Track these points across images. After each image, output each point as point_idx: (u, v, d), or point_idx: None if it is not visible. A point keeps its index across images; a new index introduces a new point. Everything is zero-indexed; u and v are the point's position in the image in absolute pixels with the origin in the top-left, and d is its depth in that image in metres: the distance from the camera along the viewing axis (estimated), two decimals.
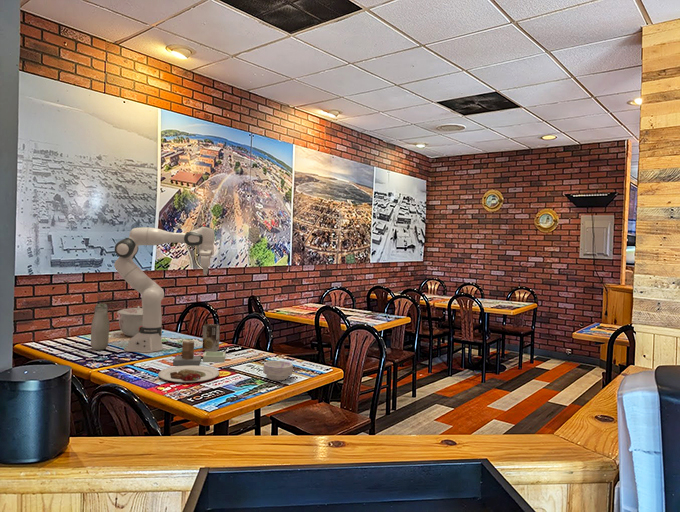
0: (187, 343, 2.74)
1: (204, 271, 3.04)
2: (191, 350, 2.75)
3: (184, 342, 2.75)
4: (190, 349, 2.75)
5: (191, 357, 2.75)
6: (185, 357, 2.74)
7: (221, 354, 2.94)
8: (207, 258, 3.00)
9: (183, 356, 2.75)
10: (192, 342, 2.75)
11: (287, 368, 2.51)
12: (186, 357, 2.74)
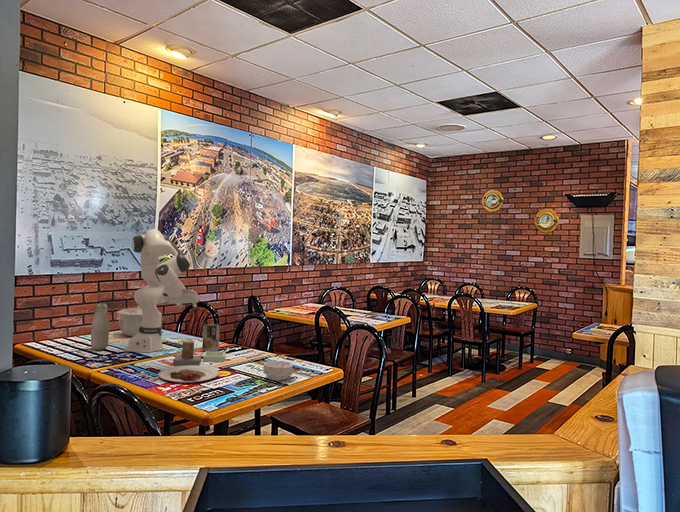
0: (187, 343, 2.74)
1: None
2: (191, 350, 2.75)
3: (184, 342, 2.75)
4: (190, 349, 2.75)
5: (191, 357, 2.75)
6: (185, 357, 2.74)
7: (221, 354, 2.94)
8: None
9: (183, 356, 2.75)
10: (192, 342, 2.75)
11: (287, 368, 2.51)
12: (186, 357, 2.74)
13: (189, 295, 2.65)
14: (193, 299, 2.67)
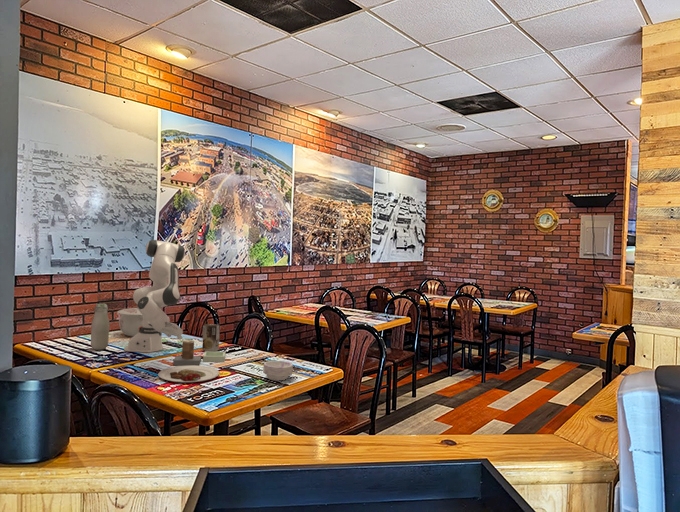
0: (187, 343, 2.74)
1: None
2: (191, 350, 2.75)
3: (184, 342, 2.75)
4: (190, 349, 2.75)
5: (191, 357, 2.75)
6: (185, 357, 2.74)
7: (221, 354, 2.94)
8: None
9: (183, 356, 2.75)
10: (192, 342, 2.75)
11: (287, 368, 2.51)
12: (186, 357, 2.74)
13: (170, 329, 2.57)
14: (175, 333, 2.59)
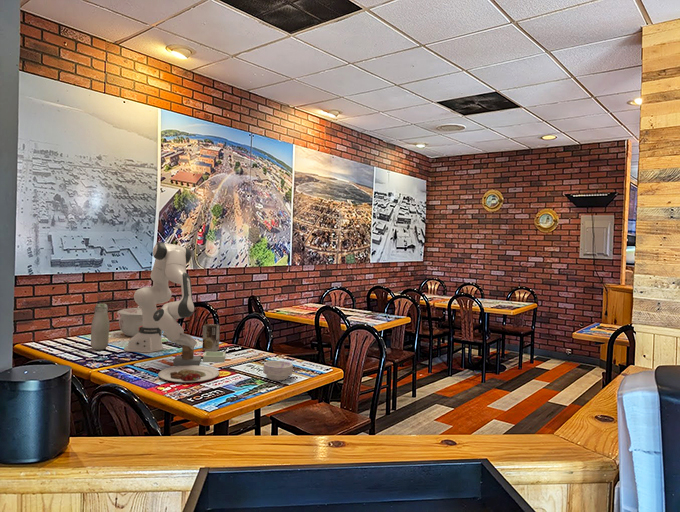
0: None
1: None
2: (191, 350, 2.75)
3: None
4: (190, 349, 2.75)
5: (191, 357, 2.75)
6: (185, 357, 2.74)
7: (221, 354, 2.94)
8: None
9: (183, 356, 2.75)
10: None
11: (287, 368, 2.51)
12: (186, 357, 2.74)
13: (185, 340, 2.65)
14: (189, 344, 2.67)
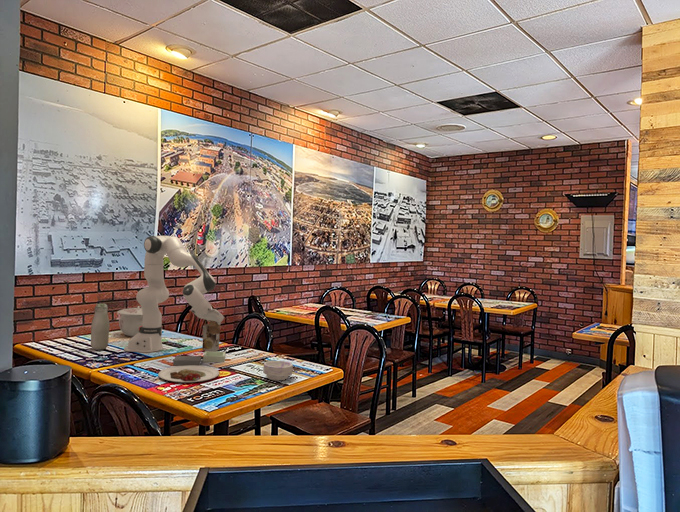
0: None
1: None
2: (218, 325, 2.87)
3: None
4: None
5: (218, 332, 2.87)
6: (212, 332, 2.86)
7: (221, 354, 2.94)
8: None
9: (210, 331, 2.87)
10: None
11: (287, 368, 2.51)
12: (213, 332, 2.85)
13: (213, 315, 2.76)
14: (217, 319, 2.78)
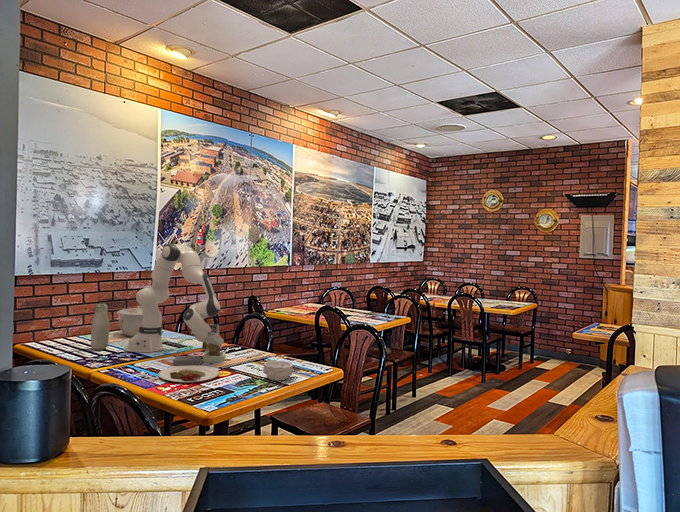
0: (214, 344, 2.86)
1: None
2: (218, 350, 2.88)
3: None
4: (217, 350, 2.87)
5: None
6: None
7: (221, 354, 2.94)
8: None
9: None
10: None
11: (287, 368, 2.51)
12: None
13: (213, 339, 2.77)
14: (217, 343, 2.79)
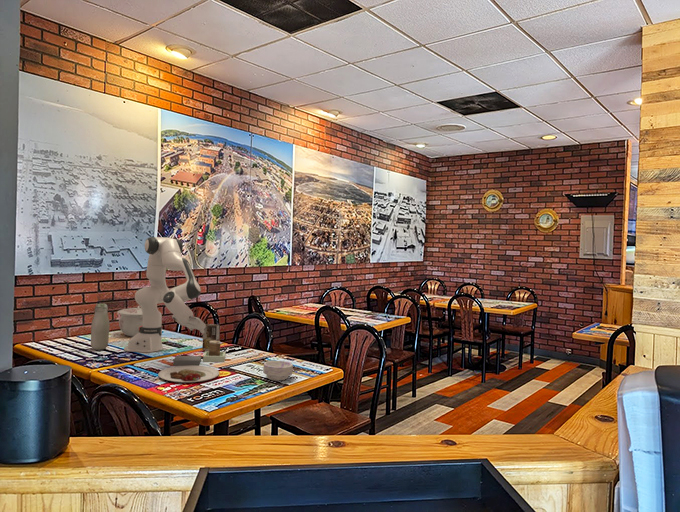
0: (214, 344, 2.86)
1: None
2: (218, 350, 2.88)
3: (211, 343, 2.87)
4: (217, 350, 2.87)
5: None
6: None
7: (221, 354, 2.94)
8: None
9: None
10: (218, 343, 2.88)
11: (287, 368, 2.51)
12: None
13: (194, 323, 2.67)
14: (198, 327, 2.69)
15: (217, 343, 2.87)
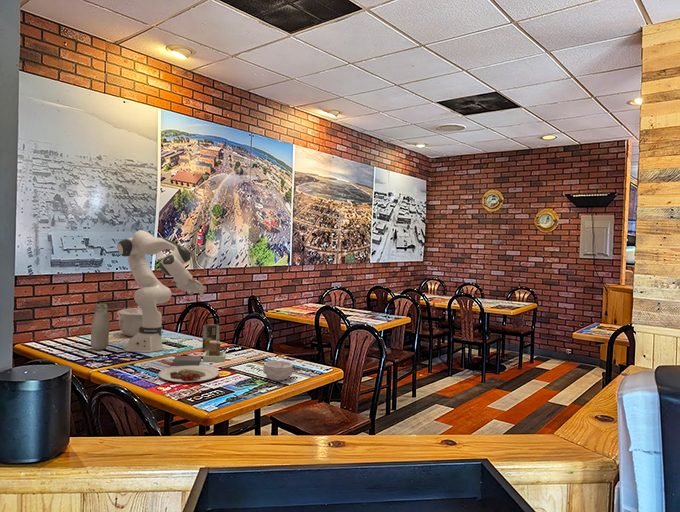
0: (214, 344, 2.86)
1: None
2: (218, 350, 2.88)
3: (211, 343, 2.87)
4: (217, 350, 2.87)
5: None
6: None
7: (221, 354, 2.94)
8: None
9: None
10: (218, 343, 2.88)
11: (287, 368, 2.51)
12: None
13: (193, 285, 2.76)
14: (198, 290, 2.78)
15: (217, 343, 2.87)
